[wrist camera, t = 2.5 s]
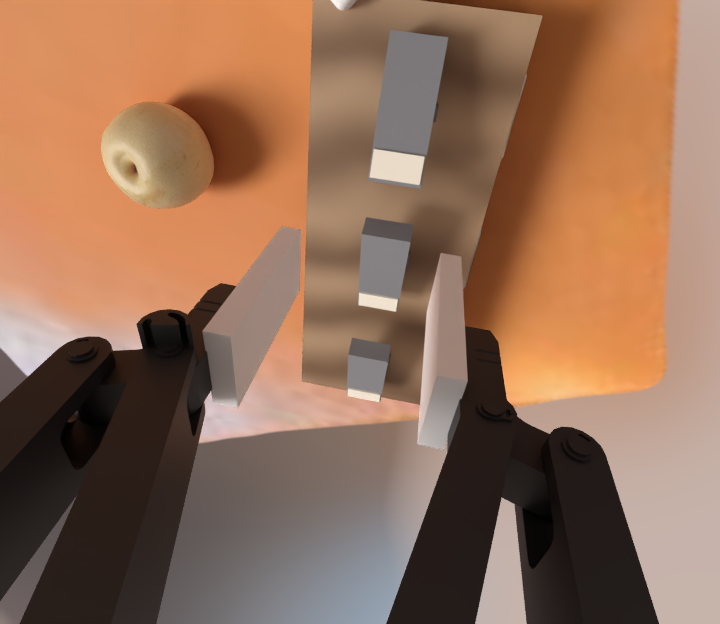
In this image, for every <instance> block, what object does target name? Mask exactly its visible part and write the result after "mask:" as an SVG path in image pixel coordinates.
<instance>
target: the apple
mask: <svg viewBox="0 0 720 624" xmlns="http://www.w3.org/2000/svg"><path fill="white" fill-rule="evenodd" d="M101 152H102V157H103V161H104V164H105V167H106V169H107V172H108V173H109V175H110V177H111V178H112V180H113V181H114V182H115V184H116V185H117V186H118V187H119V188H120V189H121V190H122V191H123V192H124V193H125V194H126V195H127V196H129V197H130V198H131V199H132V200H134V201H135V202H137V203H139V204H141V205H144V206H147V207H151V208H157V209H169V208H176V207H180V206H183V205H185V204H188V203H190V202H192V201H193V200H195V199H196V198H197V197H198V196H200V195H201V194H202V193H203V192H204V191H205V190H206V188H207V187H208V186H209V184H210V182H211V180H212V177H213V173H214V159H213V154H212V150H211V147H210V144H209V142H208V139H207V137H206V135H205V134H204V132H203V130H202V129H201V127H200V126H199V125H198V123H197V122H196V121H195V120H194V119H192V118H191V117H190V116H189V115H188V114H186V113H185V112H183V111H182V110H180V109H178V108H176V107H174V106H172V105H168V104H165V103H160V102H142V103H138V104H135V105H133V106H130V107H129V108H127V109H125V110H124V111H122V112H121V113H120V114H118V115H117V116H116V117H115V118H114V119H113V120H112V121H111V122H110V124H109V125H108V126H107V128H106V130H105V131H104V134H103V137H102V143H101Z"/></svg>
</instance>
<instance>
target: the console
mask: <svg viewBox="0 0 720 624" xmlns="http://www.w3.org/2000/svg"><path fill="white" fill-rule="evenodd" d="M542 17H543V15H535V14H527V13H519V12H511V11H503V10H495V9H487V8H479V7H471V6H463V5H455V4H446V3H438V2H430V1H422V0H356V2H355V3H354V4H353V6H352V7H351V8H350V9H348V10H339V9H338V8H337V7H336V6H335V5H334V4H333V3H332V1H331V0H313V16H312V50H311V84H310V119H309V153H308V187H307V221H306V256H305V290H304V324H303V358H302V382H306V383H312V384H317V385H322V386H327V387H332V388H337V389H342V390H347V374H348V353H349V349H350V344H351V340H352V338H357V339H362V340H368V341H373V342H378V343H384V344H389V345H391V348H390V354H389V359H388V365H387V370H386V375H385V380H384V385H383V390H382V395H381V397H383V398H388V399H394V400H399V401H404V402H409V403H414V404H419V405H420V399H421V385H422V371H423V357H424V343H425V329H426V315H427V309H428V305H429V300H430V296H431V292H432V288H433V284H434V279H435V275H436V271H437V267H438V262H439V258H440V254H441V253H444V254H450V255H456V256H461V260H462V280H463V290H464V288H465V287H466V284H467V280H468V277H469V274H470V270H471V267H472V263H473V260H474V256H475V253H476V249H477V246H478V243H479V239H480V236H481V228H482V224H483V221H484V217H485V214H486V210H487V207H488V204H489V200H490V197H491V193H492V190H493V186H494V183H495V179H496V176H497V172H498V169H499V165H500V162H501V159H502V158H503V157H504V153H505V150H506V146H507V143H508V140H509V136H510V133H511V129H512V126H513V122H514V119H515V116H516V112H517V109H518V105H519V102H520V98H521V95H522V91H523V88H524V85H525V81H526V78H527V75H526V72H527V69H528V65H529V62H530V58H531V55H532V51H533V48H534V44H535V41H536V38H537V34H538V31H539V27H540V24H541V20H542ZM390 30H395V31H403V32H411V33H419V34H426V35H434V36H442V37H448V42H447V48H446V53H445V59H444V64H443V70H442V75H441V80H440V86H439V91H438V97H437V102H436V108H435V113H434V118H433V124H432V129H431V135H430V140H429V146H428V151H427V157H426V162H425V167H424V173H423V178H422V184H421V189H416V188H410V187H403V186H397V185H390V184H384V183H378V182H371V181H368V175H369V168H370V161H371V155H372V148H373V141H374V135H375V128H376V121H377V115H378V108H379V101H380V95H381V88H382V81H383V75H384V68H385V61H386V55H387V48H388V41H389V35H390ZM366 217H369V218H375V219H381V220H387V221H393V222H399V223H406V224H412V225H413V231H412V237H411V242H410V248H409V253H408V258H407V263H406V268H405V273H404V279H403V284H402V289H401V294H400V299H399V304H398V309H397V312H394V311H389V310H383V309H378V308H372V307H366V306H361V305H358V289H359V271H360V254H361V236H362V231H363V227H364V223H365V219H366Z"/></svg>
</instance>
